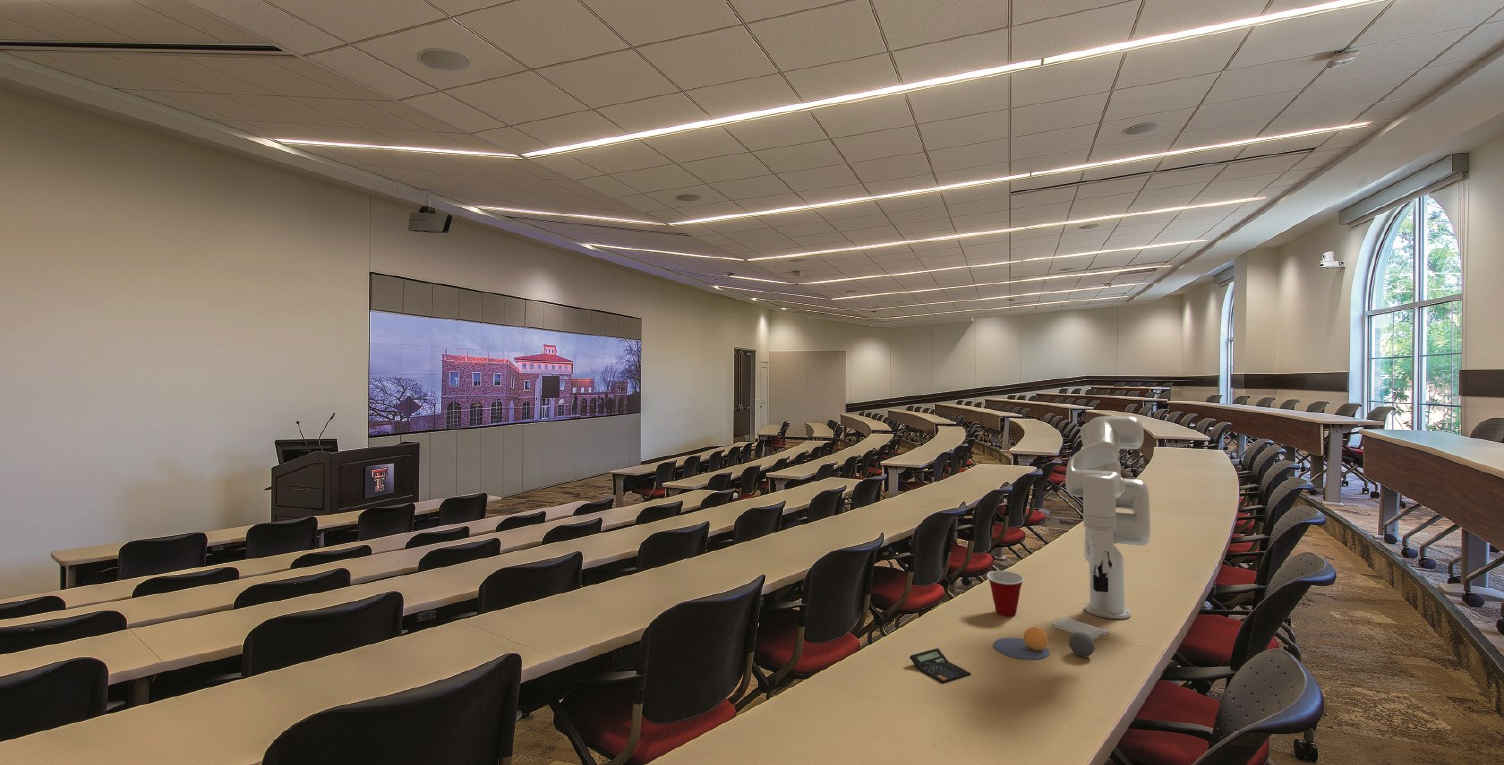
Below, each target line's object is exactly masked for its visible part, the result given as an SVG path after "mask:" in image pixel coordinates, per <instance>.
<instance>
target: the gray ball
mask: <svg viewBox="0 0 1504 765" xmlns="http://www.w3.org/2000/svg"><path fill="white" fill-rule="evenodd" d="M1068 639H1069V640H1068V645H1069V648H1070V650H1071V651H1072V652H1073V653H1074V654H1075V655H1076V656H1079V657H1082V658H1085V657H1089V656H1091V655H1092V654H1093V653H1094V650H1095V646H1096V645H1095V643H1094V640H1092V638H1091V637H1090V636H1089V635H1087V634H1085V633H1082V632H1077V633H1072V634H1071V635H1070V637H1069V638H1068Z"/></svg>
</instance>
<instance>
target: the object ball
mask: <svg viewBox="0 0 1504 765" xmlns="http://www.w3.org/2000/svg"><path fill="white" fill-rule="evenodd" d="M1023 639H1024V642H1025V644H1026V645H1027V646H1028V647H1029V648H1030V649H1032V650H1034V651H1041V650H1043V649H1045V648H1047V646H1048V643H1049V641H1048V640H1049V639H1048V634H1047V633H1046V632H1045V631H1044V629H1041V628H1039V627H1036V626H1032V627H1031V626H1030V627H1029V628H1027V629H1026V630H1025V631H1024V632H1023Z"/></svg>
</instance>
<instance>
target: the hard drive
mask: <svg viewBox="0 0 1504 765" xmlns="http://www.w3.org/2000/svg"><path fill="white" fill-rule="evenodd" d="M1051 627H1053V628H1057V629H1059V630H1062V631H1065V632H1069V633H1071V634H1074V633H1077V632H1082V633H1085V634H1087V635H1089V636H1090V637H1091V638H1092V640H1093V641H1094V640H1096V639H1098V638H1102V637H1104V636H1106V635H1108V634H1109V633H1110V632H1109V631H1108V630H1107V629H1103V628H1100V627H1097V626H1094V625H1092V624H1088V623H1084V622H1081V621H1078V620H1076V619H1073V618H1069V617H1064V618H1062V619H1058V620H1056V621H1054V622H1052V623H1051Z"/></svg>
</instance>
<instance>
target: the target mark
mask: <svg viewBox="0 0 1504 765" xmlns="http://www.w3.org/2000/svg"><path fill="white" fill-rule="evenodd" d="M993 648H994V649H995V650H996V651H997V652H998V651H999V652H998V653H1000V654H1002V655H1004V656H1007V657H1010V658H1013V659H1017V658H1019V660H1026V661H1037V660H1043V659H1045V658H1048V657H1049V655H1050V651H1049V650H1050V649H1048V647H1046V648H1045V649H1043V650H1041V651H1034V650H1032V649H1030V648H1029V647H1028V646H1027V645H1026V644H1025V642H1024V638H1020V637H1004V638H999V639H996V640H995V641H993Z"/></svg>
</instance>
